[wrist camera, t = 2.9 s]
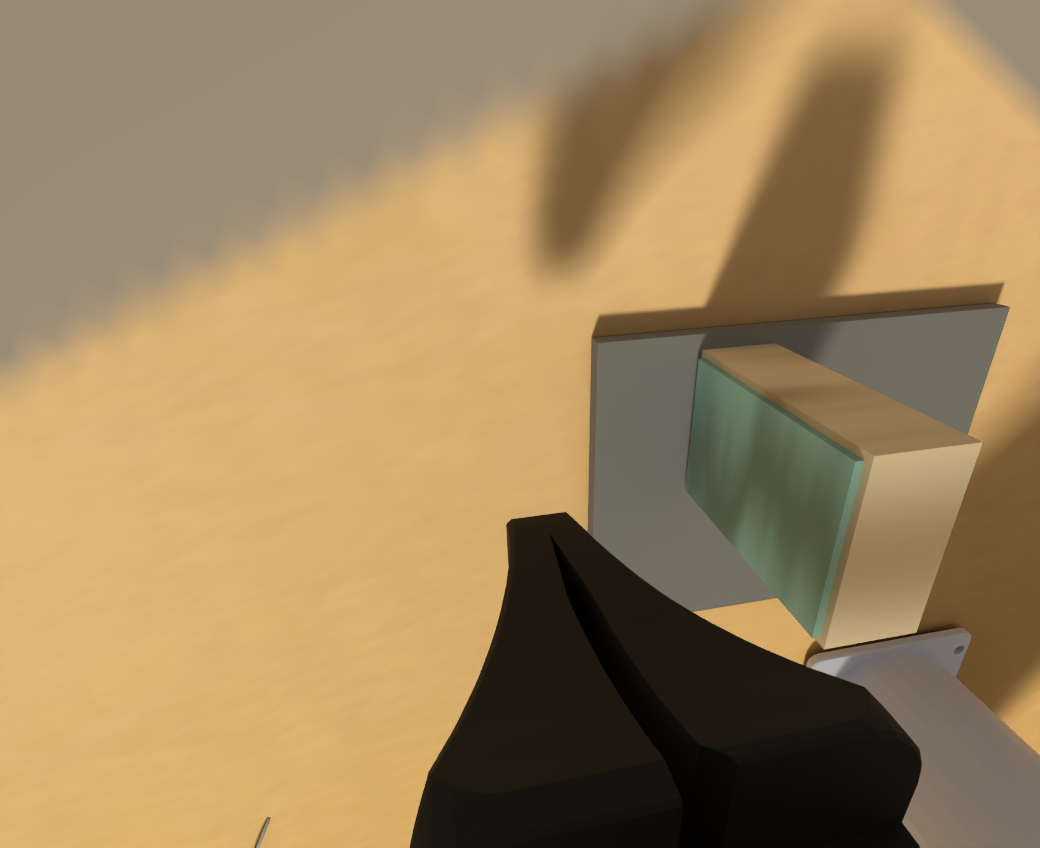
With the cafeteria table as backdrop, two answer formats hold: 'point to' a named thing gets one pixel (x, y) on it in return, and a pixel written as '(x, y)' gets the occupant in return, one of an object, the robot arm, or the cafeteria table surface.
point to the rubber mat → (669, 411)
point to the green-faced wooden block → (826, 489)
